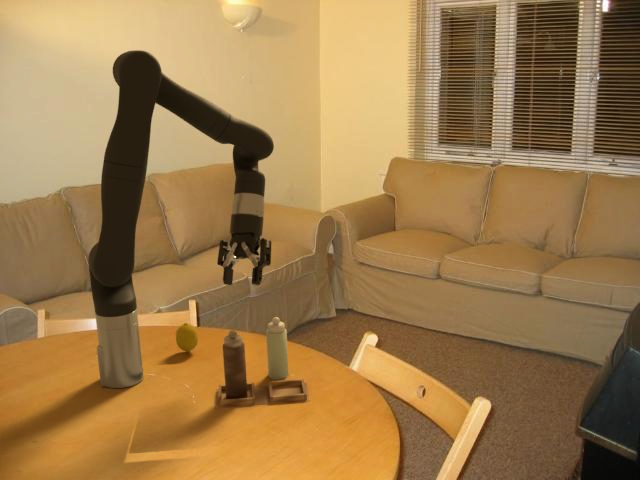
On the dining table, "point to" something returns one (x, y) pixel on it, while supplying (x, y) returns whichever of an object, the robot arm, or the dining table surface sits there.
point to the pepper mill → (234, 366)
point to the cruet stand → (266, 394)
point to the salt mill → (277, 349)
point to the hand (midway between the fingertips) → (241, 284)
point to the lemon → (187, 337)
